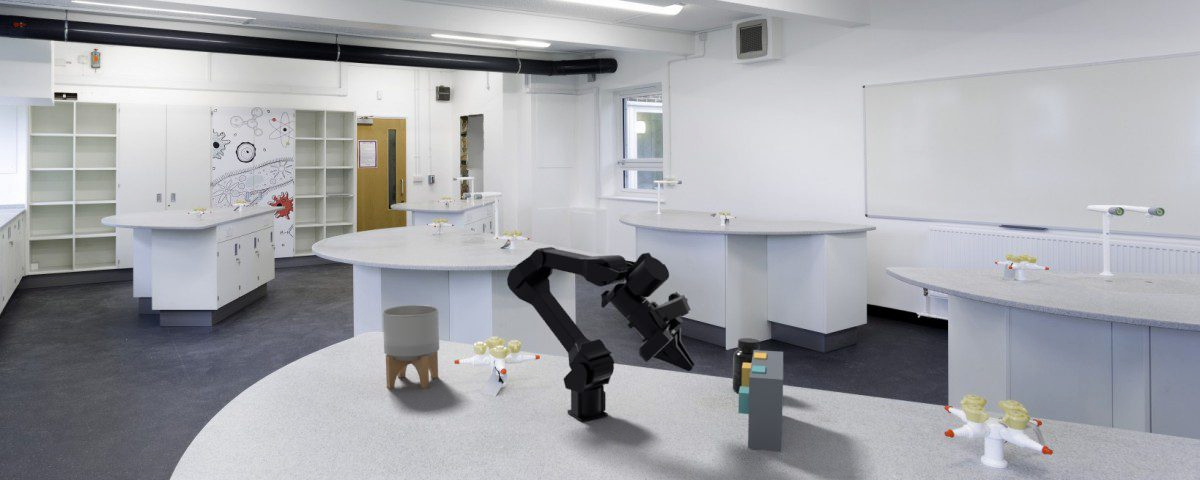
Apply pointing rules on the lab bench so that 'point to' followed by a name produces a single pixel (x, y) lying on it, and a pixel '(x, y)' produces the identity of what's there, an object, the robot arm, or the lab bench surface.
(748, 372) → the amber button
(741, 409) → the teal button
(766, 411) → the button panel
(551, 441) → the lab bench surface
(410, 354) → the planter
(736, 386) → the supplement bottle
